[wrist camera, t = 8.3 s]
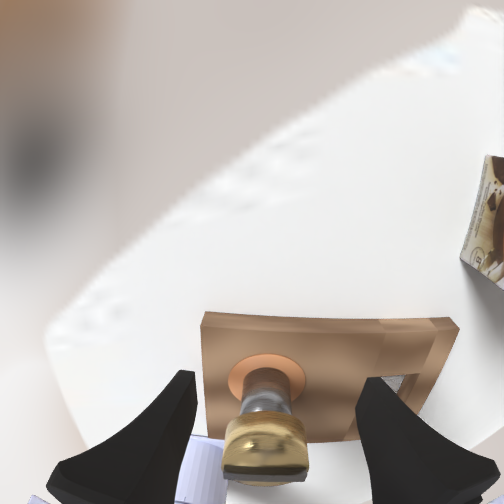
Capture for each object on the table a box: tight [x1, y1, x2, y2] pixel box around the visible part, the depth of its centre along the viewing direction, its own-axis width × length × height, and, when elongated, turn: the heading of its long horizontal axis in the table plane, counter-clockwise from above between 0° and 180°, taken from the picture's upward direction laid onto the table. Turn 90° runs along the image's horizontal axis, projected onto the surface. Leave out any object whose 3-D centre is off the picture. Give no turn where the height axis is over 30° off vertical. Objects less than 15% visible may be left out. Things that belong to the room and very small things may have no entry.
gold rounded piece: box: [221, 367, 309, 486], centre depth 17 cm, size 5×5×9 cm
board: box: [200, 311, 460, 443], centre depth 23 cm, size 14×21×2 cm, turn 87°
